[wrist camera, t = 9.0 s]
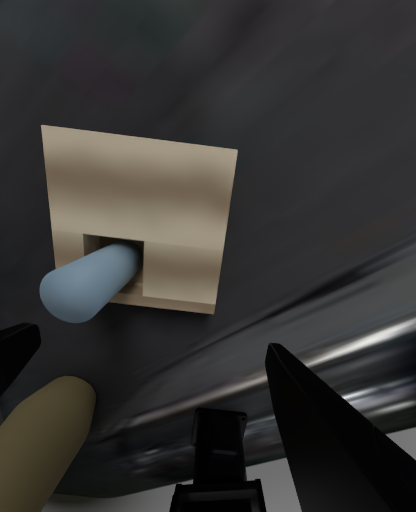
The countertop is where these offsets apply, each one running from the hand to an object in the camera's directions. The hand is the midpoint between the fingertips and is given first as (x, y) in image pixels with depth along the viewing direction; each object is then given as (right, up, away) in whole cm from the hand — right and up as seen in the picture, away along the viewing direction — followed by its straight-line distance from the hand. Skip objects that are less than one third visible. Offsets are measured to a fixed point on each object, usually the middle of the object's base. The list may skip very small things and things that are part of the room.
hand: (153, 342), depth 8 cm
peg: (-6, +3, +12) cm, 13 cm away
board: (-3, +6, +11) cm, 13 cm away
